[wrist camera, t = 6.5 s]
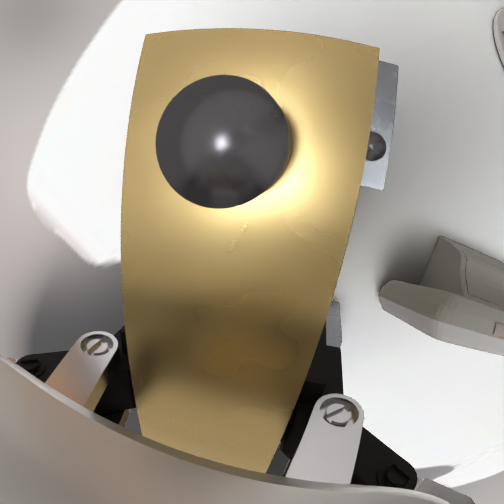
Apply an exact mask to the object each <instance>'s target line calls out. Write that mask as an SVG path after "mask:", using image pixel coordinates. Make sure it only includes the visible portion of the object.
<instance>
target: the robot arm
mask: <svg viewBox="0 0 504 504" xmlns="http://www.w3.org/2000/svg"><path fill="white" fill-rule="evenodd" d="M493 29H494V38H495V42H496V46H497V49H498V52H499V55H500V58H501V61H502V63H503V65H504V7H503V8H501V9H500V10H499V11H498V12H497V13H496V16H495V18H494V25H493ZM135 407H136V402H135V397H134V391H133V385H132V379H131V372H130V365H129V358H128V350H127V342H126V333H125V326H123V327H122V328H121V329H120V330H119V331H118V332H117V333H116V334H115V335H114V336H113V335H111V334H109V333H107V332H101V331H96V332H90V333H87V334H85V335H83V336H81V337H80V338H79V339H78V340H77V342H76V343H75V344H74V345H73V347H72V348H71V349H70V350H69V351H61V352H51V353H42V354H32V355H27V356H24V357H22V358H21V359H19V360H18V361H17V359H15V358H6V357H4V356H2V355H0V504H475V503H474V501H473V500H472V499H471V498H470V497H468V496H466V495H464V494H461V493H459V492H457V491H454V490H452V489H450V488H447V487H445V486H443V485H441V484H438V483H436V482H434V481H432V480H430V479H428V478H426V477H424V478H423V479H422V480H421V479H419V478H417V473H416V471H415V469H414V468H413V467H412V466H411V465H410V464H409V463H408V462H407V461H406V460H404V459H403V458H402V457H400V456H399V455H398V454H396V453H395V452H394V451H393V450H391V449H390V448H389V447H387V446H386V445H385V444H384V443H382V442H381V441H380V440H379V439H377V438H376V437H375V436H374V435H372V434H371V433H370V432H369V431H368V430H366V429H365V428H364V427H363V421H364V411H363V409H362V407H361V406H360V404H359V403H358V402H357V401H355V400H354V399H352V398H351V397H348V396H346V395H343V379H342V363H341V350H340V348H339V347H334V346H328V345H326V320H325V324H324V327H323V330H322V333H321V336H320V339H319V342H318V345H317V348H316V351H315V354H314V356H313V359H312V362H311V365H310V368H309V370H308V373H307V376H306V379H305V381H304V384H303V387H302V389H301V392H300V394H299V397H298V400H297V402H296V405H295V407H294V410H293V412H292V414H291V417H290V419H289V422H288V424H287V426H286V429H285V431H284V433H283V436H282V438H281V440H280V442H281V445H280V450H282V452H283V453H284V454H285V455H286V456H287V457H288V458H289V459H290V460H289V462H288V464H287V466H286V469H285V471H284V473H283V475H282V476H276V475H270V474H265V473H260V472H255V471H251V470H246V469H242V468H238V467H234V466H230V465H226V464H222V463H219V462H215V461H212V460H208V459H205V458H202V457H198V456H195V455H192V454H189V453H186V452H183V451H180V450H178V449H175V448H172V447H169V446H167V445H164V444H161V443H159V442H156V441H154V440H151V439H149V438H147V437H144V436H142V435H139V434H137V433H135V432H133V431H130V430H128V429H126V428H124V427H125V425H126V422H127V420H128V417H129V415H130V411H131V409H132V408H135ZM136 408H137V407H136Z"/></svg>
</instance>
